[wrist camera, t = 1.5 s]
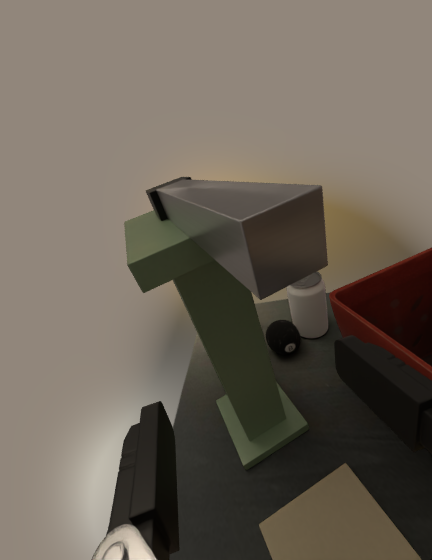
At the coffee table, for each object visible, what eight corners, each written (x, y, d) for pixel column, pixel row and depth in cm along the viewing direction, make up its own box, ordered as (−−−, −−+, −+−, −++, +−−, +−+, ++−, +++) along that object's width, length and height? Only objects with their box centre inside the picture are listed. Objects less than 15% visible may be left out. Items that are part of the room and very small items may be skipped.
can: (333, 321, 46) (330, 270, 40) (320, 344, 43) (314, 292, 37) (302, 313, 50) (295, 266, 45) (288, 333, 47) (278, 285, 41)
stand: (320, 443, 30) (280, 198, 14) (253, 488, 28) (126, 264, 13) (263, 367, 42) (208, 188, 26) (214, 396, 40) (123, 222, 25)
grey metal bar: (344, 258, 7) (341, 176, 6) (242, 310, 6) (216, 230, 5) (191, 202, 23) (182, 176, 21) (156, 216, 22) (145, 190, 21)
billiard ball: (292, 332, 47) (287, 309, 44) (308, 353, 42) (304, 329, 39) (264, 343, 47) (258, 321, 44) (277, 365, 42) (271, 342, 39)
